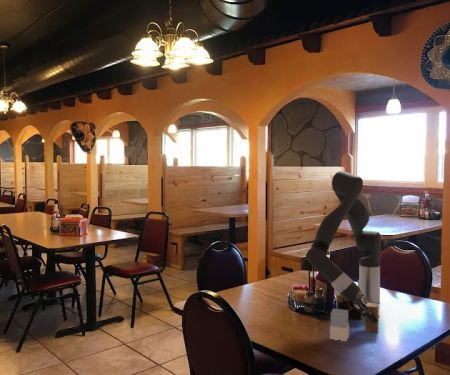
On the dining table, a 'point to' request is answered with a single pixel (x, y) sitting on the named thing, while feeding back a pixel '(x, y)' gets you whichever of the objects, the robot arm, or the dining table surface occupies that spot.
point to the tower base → (339, 333)
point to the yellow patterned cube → (348, 307)
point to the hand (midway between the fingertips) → (377, 320)
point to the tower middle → (339, 318)
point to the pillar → (375, 311)
